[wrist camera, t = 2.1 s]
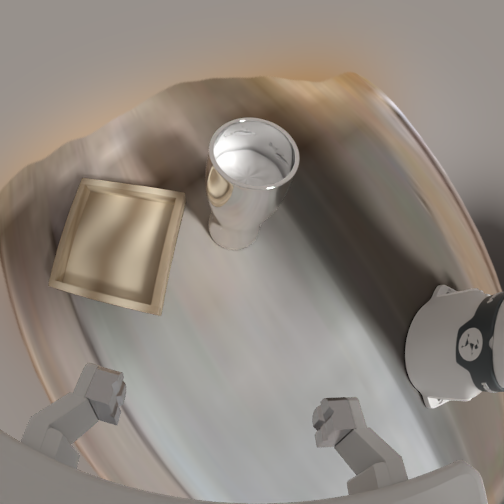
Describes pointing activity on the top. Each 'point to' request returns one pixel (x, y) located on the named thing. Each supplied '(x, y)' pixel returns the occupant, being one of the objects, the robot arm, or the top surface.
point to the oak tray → (119, 244)
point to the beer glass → (247, 178)
